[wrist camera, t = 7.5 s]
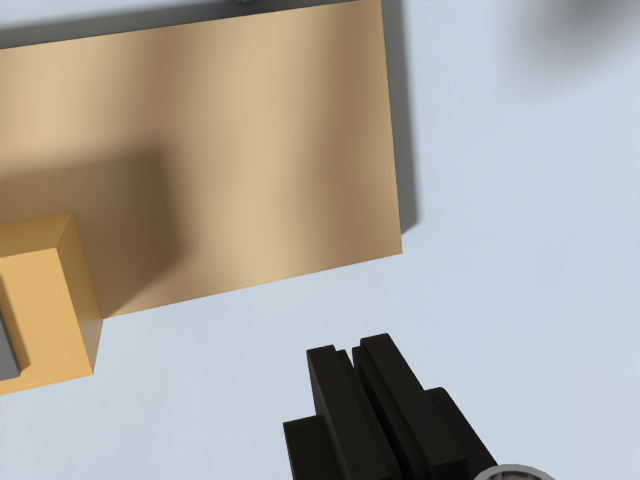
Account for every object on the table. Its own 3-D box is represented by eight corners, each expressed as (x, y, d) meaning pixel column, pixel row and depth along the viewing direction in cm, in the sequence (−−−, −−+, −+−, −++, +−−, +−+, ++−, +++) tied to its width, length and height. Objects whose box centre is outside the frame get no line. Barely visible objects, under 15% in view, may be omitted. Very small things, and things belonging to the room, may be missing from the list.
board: (369, -1, 21) (380, -3, 20) (391, 242, 24) (402, 253, 23) (-388, 102, 17) (-427, 108, 16) (-241, 378, 20) (-264, 399, 19)
